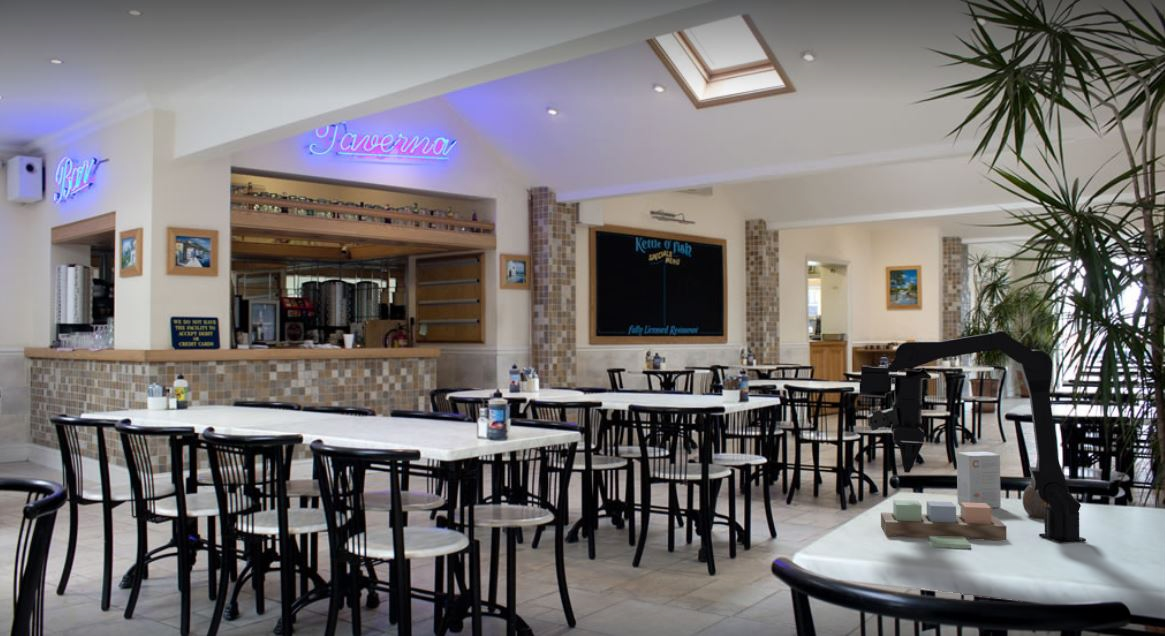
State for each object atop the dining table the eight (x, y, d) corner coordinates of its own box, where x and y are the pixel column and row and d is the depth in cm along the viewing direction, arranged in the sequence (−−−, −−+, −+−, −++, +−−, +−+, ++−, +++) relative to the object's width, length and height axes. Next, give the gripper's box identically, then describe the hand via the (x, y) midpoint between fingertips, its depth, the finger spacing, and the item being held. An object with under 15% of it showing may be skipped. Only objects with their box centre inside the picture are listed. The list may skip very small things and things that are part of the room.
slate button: (951, 520, 202) (951, 501, 202) (956, 525, 197) (956, 506, 197) (926, 519, 204) (926, 501, 204) (930, 524, 198) (930, 505, 198)
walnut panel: (995, 530, 203) (995, 516, 203) (1006, 540, 193) (1006, 526, 193) (880, 525, 208) (880, 512, 208) (886, 536, 198) (885, 521, 198)
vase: (1061, 519, 213) (1060, 481, 213) (1030, 519, 214) (1030, 481, 214) (1046, 513, 220) (1046, 476, 220) (1017, 513, 220) (1017, 476, 220)
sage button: (918, 519, 204) (918, 500, 204) (921, 524, 199) (921, 505, 199) (893, 518, 205) (893, 500, 205) (896, 523, 200) (896, 504, 200)
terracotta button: (986, 521, 201) (986, 503, 201) (991, 526, 196) (991, 507, 196) (960, 520, 202) (960, 502, 202) (965, 525, 197) (965, 507, 197)
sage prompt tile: (964, 540, 193) (964, 536, 193) (971, 548, 187) (971, 544, 187) (928, 539, 195) (928, 535, 195) (934, 547, 188) (934, 543, 188)
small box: (986, 502, 233) (986, 451, 233) (1001, 507, 227) (1000, 454, 227) (956, 503, 232) (956, 451, 232) (970, 509, 226) (969, 455, 226)
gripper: (869, 393, 216) (867, 460, 216) (869, 400, 198) (867, 473, 198) (920, 395, 212) (918, 463, 212) (925, 403, 194) (923, 477, 195)
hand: (906, 469), depth 204 cm, fingers open, 9 cm apart
